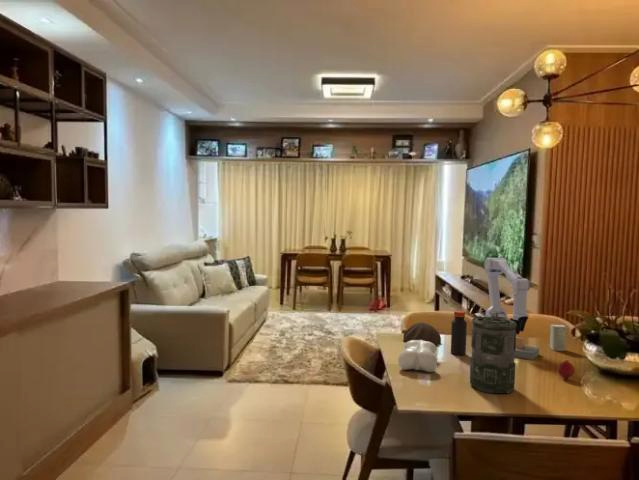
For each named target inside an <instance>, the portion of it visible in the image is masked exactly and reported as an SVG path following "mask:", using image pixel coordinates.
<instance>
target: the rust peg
mask: <svg viewBox="0 0 639 480" xmlns="http://www.w3.org/2000/svg"><path fill="white" fill-rule="evenodd" d="M524 337H525V336H524ZM524 337H523V336H518V335H516V348H517V349H523V346H524V345H525V344H524V343H525V341H524V340H525V338H524Z"/></svg>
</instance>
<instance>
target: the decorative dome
mask: <svg viewBox="0 0 639 480" xmlns="http://www.w3.org/2000/svg"><path fill="white" fill-rule="evenodd" d="M440 334H441V333H439V331H438V330H437V329H436V328H435V327H434V326H433V325H431V324H429V323H425V322H417V323H414V324H412V325H410V326H409V327H408V328H407V329H406V330H405V331H404V333H403V340H402V342H403V343H407V342H408V341H411V340H423V341H429V342H431V343H433V344H434V345H435V346H439V345H441V344H442V336H441V335H440Z"/></svg>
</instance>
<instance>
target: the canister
mask: <svg viewBox="0 0 639 480" xmlns="http://www.w3.org/2000/svg"><path fill="white" fill-rule="evenodd" d="M493 313H494V314H492V315H491V317H485V316H482V315H479V316H474V317H473V318H472V320H471V323H472V328H471V342H470V343H471V344H470V345H471V346H470V347H471V348H472V349H471V356H470V360H469V361H470V363H469V365H470V367H469V384H470V385H471V386H472V387H474V388H475V389H477V390H479V391H480V392H483V393H487V394H509V393H513V391H514V389H515V383H516V382H515V381H516V362H515V357H514V356H515V351H516V336H517V334H516V332H515V331H516V329H515V328H516V327H517V324H516V322H513V321H512V320H510V318H508V319H506V318H504V317H498V313H499V312H493ZM494 315H496V316H494Z"/></svg>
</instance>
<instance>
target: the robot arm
mask: <svg viewBox="0 0 639 480" xmlns="http://www.w3.org/2000/svg"><path fill="white" fill-rule="evenodd" d="M483 265H484V273H485V275H487V284H488V285H487V286H488V294H489V296H488V297H489V304H490V306H489V307H488V309H486V310H485V316H484V317H491V315H492V314H494V313H496V312H497V313H498V317H504V318H506V319H509V320H512V321H513V322H516V324H517V327H516V328H515V329H516V331H515V332H516V335H520V333H521V332H524V331H525V327H526V324H527V321H528V319H529V316H530V314H529V313H527V307H528V306H527V305H528V303H527V302H528V301H527V299H528V291H530V288H531V283H530V281H529V279H528V278H523V277H522V276H521V275H520V274H519V273H518V271H517V270H515V269H512V268H511V267H510V266H509V265H508V260H507V259H506V258H505V257H486V258H485V261H484V263H483ZM501 274H505V278H506V280H507V282H509V283H510V284H511V289H512V294H513V307H512V309H513V310H512V317H511V318H508V315H507V311H506V309H505V308H503V307H502V304H501V296H500V294H501V293H500V287H499V286H500V285H499V275H501ZM494 316H496V315H494Z"/></svg>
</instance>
